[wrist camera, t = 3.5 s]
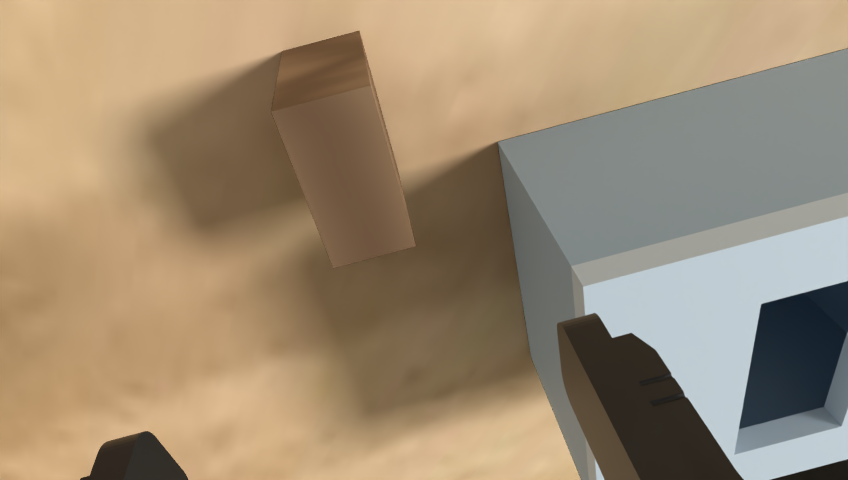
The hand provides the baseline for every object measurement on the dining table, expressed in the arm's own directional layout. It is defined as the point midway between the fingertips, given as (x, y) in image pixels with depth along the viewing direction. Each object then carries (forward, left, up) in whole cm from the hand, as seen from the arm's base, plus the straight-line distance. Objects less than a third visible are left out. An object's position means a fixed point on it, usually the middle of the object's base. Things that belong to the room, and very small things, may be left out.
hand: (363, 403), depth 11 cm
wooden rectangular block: (0, 0, -15) cm, 15 cm away
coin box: (-14, +10, -15) cm, 23 cm away
